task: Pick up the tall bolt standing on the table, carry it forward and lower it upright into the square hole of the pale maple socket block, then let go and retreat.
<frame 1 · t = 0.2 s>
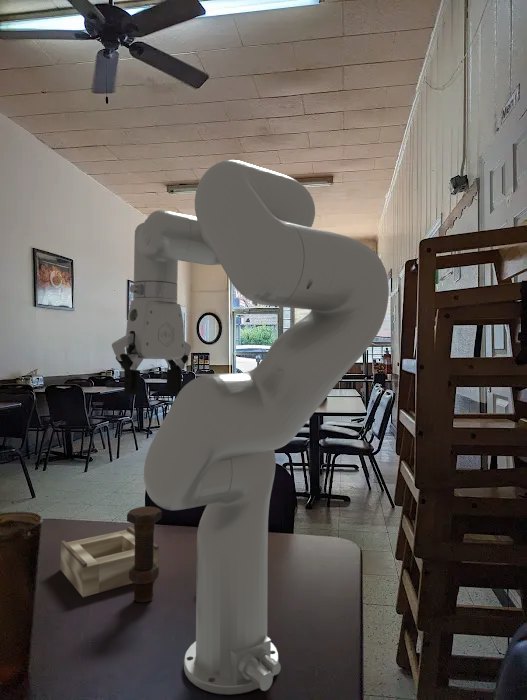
hand: (153, 392, 85), 35 cm above the table, tool pointing down, fingers open, 9 cm apart
bolt: (143, 600, 83), on the table
socket: (108, 572, 93), on the table
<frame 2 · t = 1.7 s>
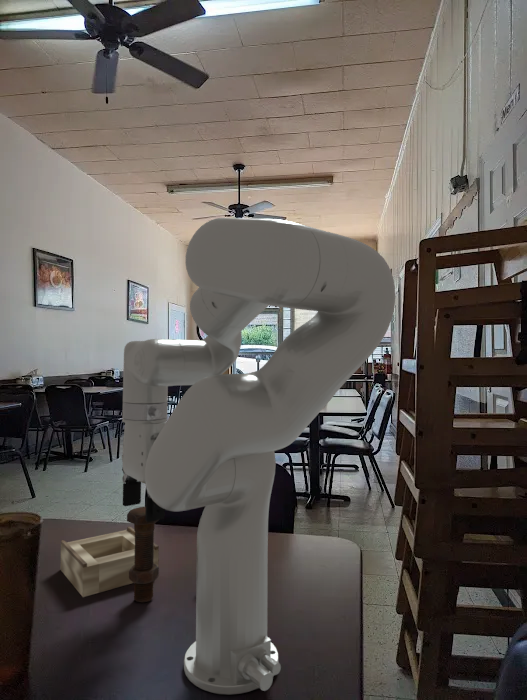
hand: (142, 512, 84), 15 cm above the table, tool pointing down, fingers open, 9 cm apart
nothing on the table moved.
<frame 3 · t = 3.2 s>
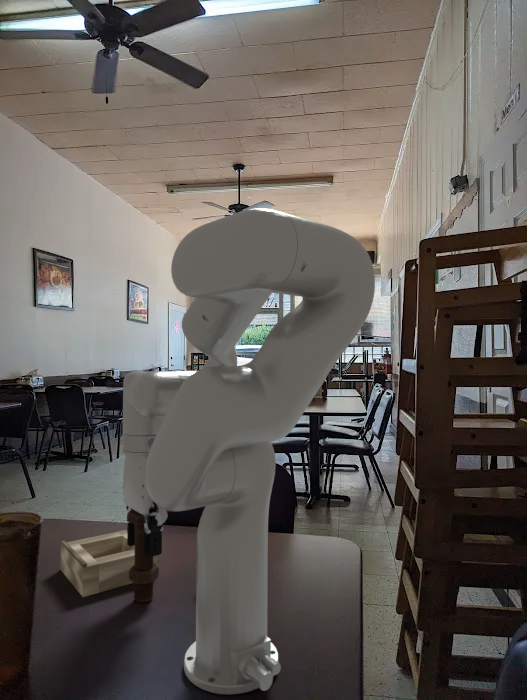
hand: (144, 548, 83), 9 cm above the table, tool pointing down, fingers closed on bolt, 5 cm apart
bolt: (143, 600, 83), on the table, touching gripper
everything else where it was.
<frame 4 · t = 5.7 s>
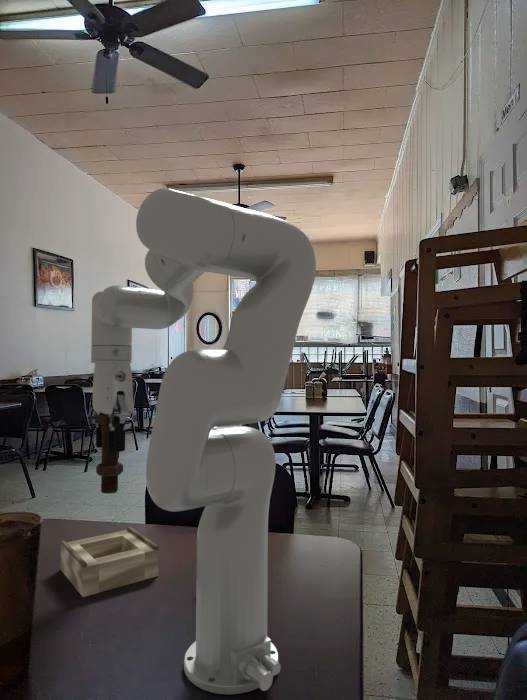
hand: (110, 448, 94), 24 cm above the table, tool pointing down, fingers closed on bolt, 5 cm apart
bolt: (109, 493, 94), point 15 cm above the table, touching gripper
everything else where it was.
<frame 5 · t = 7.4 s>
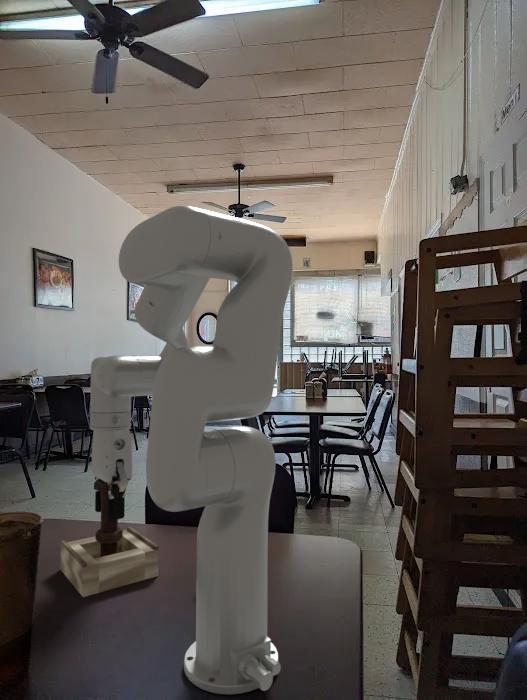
hand: (109, 513, 94), 11 cm above the table, tool pointing down, fingers closed on bolt, 5 cm apart
bolt: (108, 559, 94), point 2 cm above the table, touching gripper
everything else where it was.
when the fingers open (10 cm above the table, at t = 8.4 s): bolt drops 2 cm, resting in socket.
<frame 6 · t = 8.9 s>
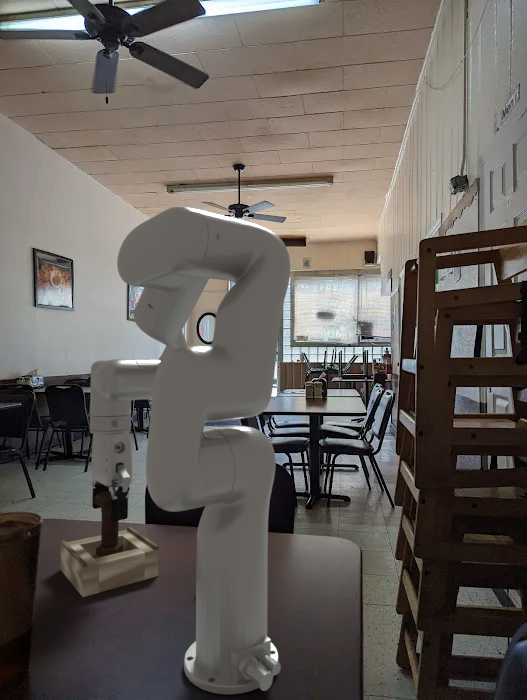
hand: (109, 513, 94), 11 cm above the table, tool pointing down, fingers open, 9 cm apart
bolt: (109, 574, 93), resting in socket
everything else where it was.
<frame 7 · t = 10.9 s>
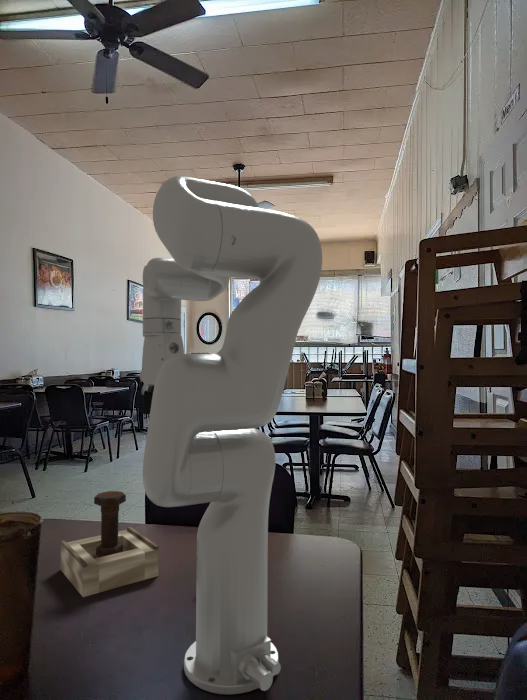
hand: (161, 415, 97), 30 cm above the table, tool pointing down, fingers open, 9 cm apart
nothing on the table moved.
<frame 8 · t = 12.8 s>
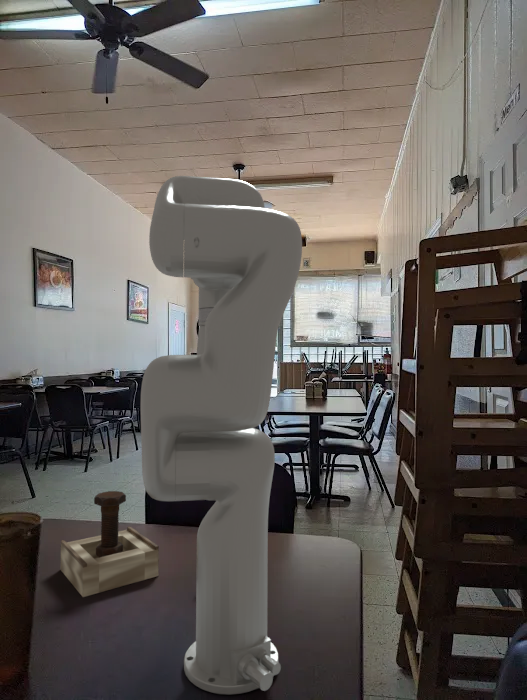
hand: (216, 402, 100), 32 cm above the table, tool pointing down, fingers open, 9 cm apart
nothing on the table moved.
at the end: bolt 0.3 cm from the socket (horizontally); bolt touching table; the gripper is holding nothing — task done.
